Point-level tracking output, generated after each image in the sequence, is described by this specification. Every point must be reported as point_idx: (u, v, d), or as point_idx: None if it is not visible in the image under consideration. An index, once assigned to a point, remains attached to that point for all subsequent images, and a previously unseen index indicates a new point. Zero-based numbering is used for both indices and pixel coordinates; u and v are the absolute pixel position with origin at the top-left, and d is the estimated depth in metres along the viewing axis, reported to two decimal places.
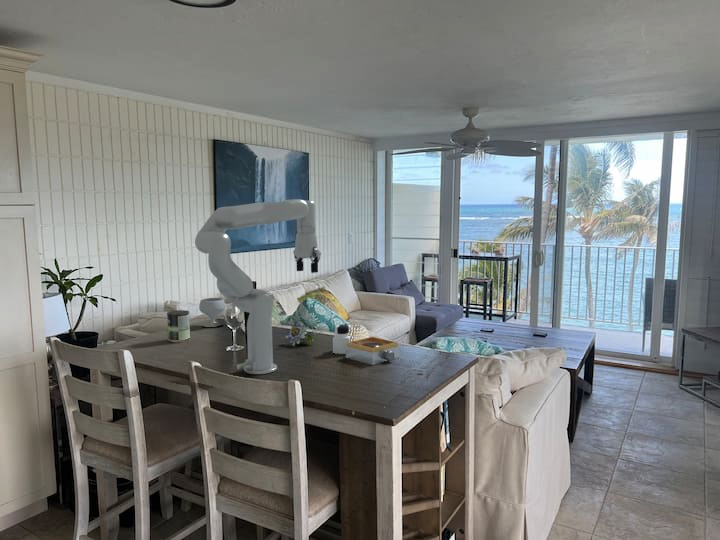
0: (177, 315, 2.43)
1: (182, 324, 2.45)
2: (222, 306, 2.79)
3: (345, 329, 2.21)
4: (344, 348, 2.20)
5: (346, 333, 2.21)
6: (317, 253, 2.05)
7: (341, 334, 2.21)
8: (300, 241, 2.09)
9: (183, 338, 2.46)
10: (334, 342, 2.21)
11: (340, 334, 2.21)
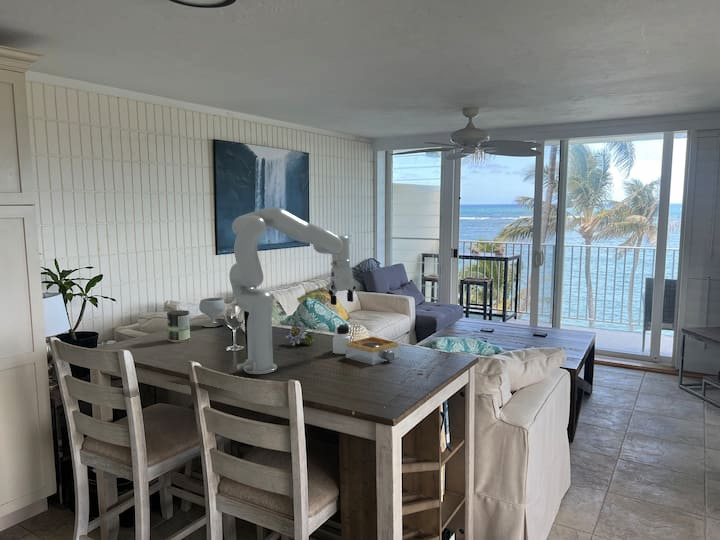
0: (177, 315, 2.43)
1: (182, 324, 2.45)
2: (222, 306, 2.79)
3: (345, 329, 2.21)
4: (344, 348, 2.20)
5: (346, 333, 2.21)
6: (355, 283, 2.26)
7: (341, 334, 2.21)
8: (344, 274, 2.19)
9: (183, 338, 2.46)
10: (334, 342, 2.21)
11: (340, 334, 2.21)
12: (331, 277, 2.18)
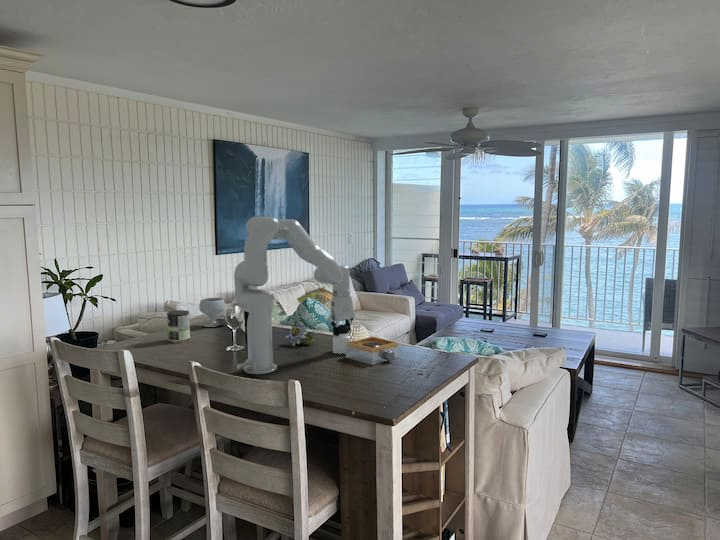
0: (177, 315, 2.43)
1: (182, 324, 2.45)
2: (222, 306, 2.79)
3: (345, 329, 2.21)
4: (344, 348, 2.20)
5: (346, 333, 2.21)
6: (353, 315, 2.27)
7: (341, 334, 2.21)
8: (345, 304, 2.20)
9: (183, 338, 2.46)
10: (334, 342, 2.21)
11: (340, 334, 2.21)
12: (331, 307, 2.20)
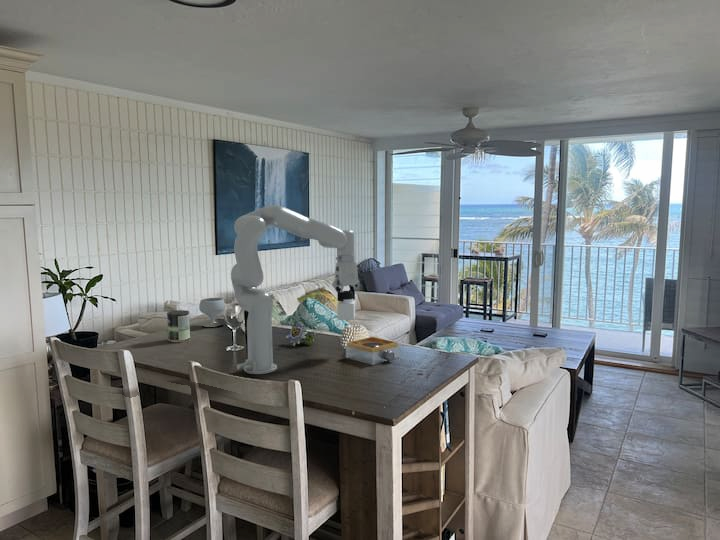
0: (177, 315, 2.43)
1: (182, 324, 2.45)
2: (222, 306, 2.79)
3: (350, 294, 2.18)
4: (349, 314, 2.17)
5: (351, 299, 2.18)
6: (358, 281, 2.24)
7: (346, 300, 2.17)
8: (349, 269, 2.17)
9: (183, 338, 2.46)
10: (338, 308, 2.17)
11: (345, 300, 2.17)
12: (336, 272, 2.16)
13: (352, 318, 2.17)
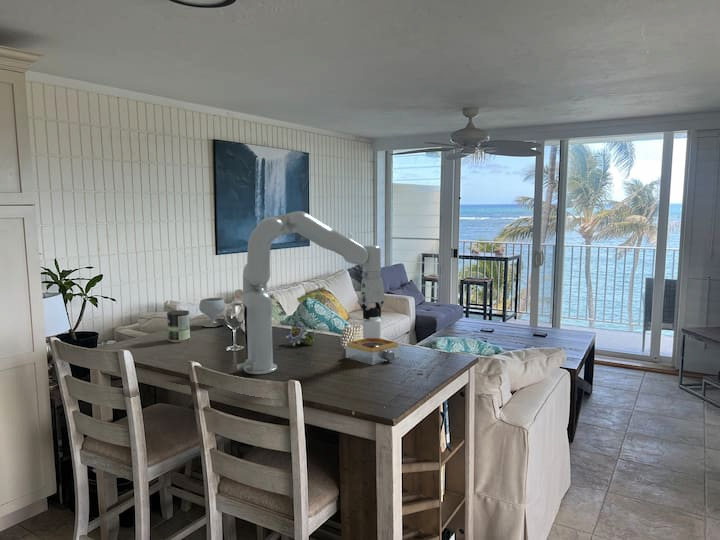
0: (177, 315, 2.43)
1: (182, 324, 2.45)
2: (222, 306, 2.79)
3: (376, 312, 2.11)
4: (375, 332, 2.10)
5: (377, 316, 2.11)
6: (384, 298, 2.17)
7: (372, 317, 2.10)
8: (376, 286, 2.10)
9: (183, 338, 2.46)
10: (364, 326, 2.10)
11: (371, 318, 2.10)
12: (362, 289, 2.09)
13: (378, 336, 2.10)
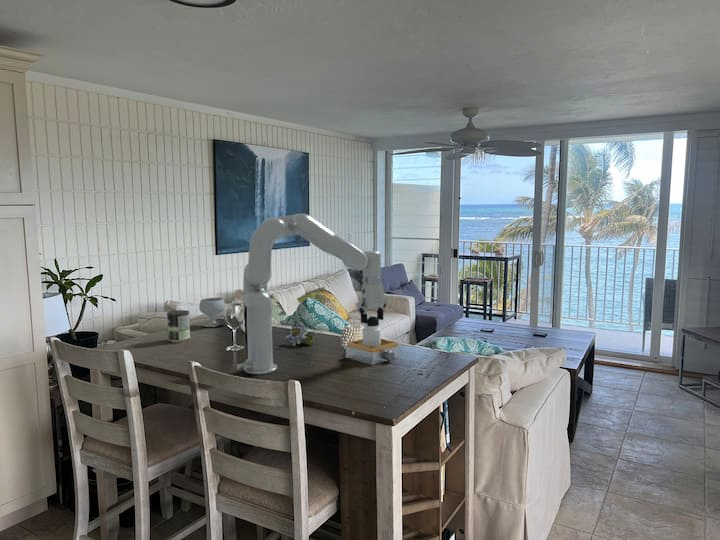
0: (177, 315, 2.43)
1: (182, 324, 2.45)
2: (222, 306, 2.79)
3: (375, 321, 2.11)
4: (374, 341, 2.10)
5: (376, 325, 2.11)
6: (385, 300, 2.17)
7: (371, 326, 2.10)
8: (376, 291, 2.10)
9: (183, 338, 2.46)
10: (364, 335, 2.10)
11: (371, 326, 2.10)
12: (362, 294, 2.10)
13: (378, 345, 2.10)
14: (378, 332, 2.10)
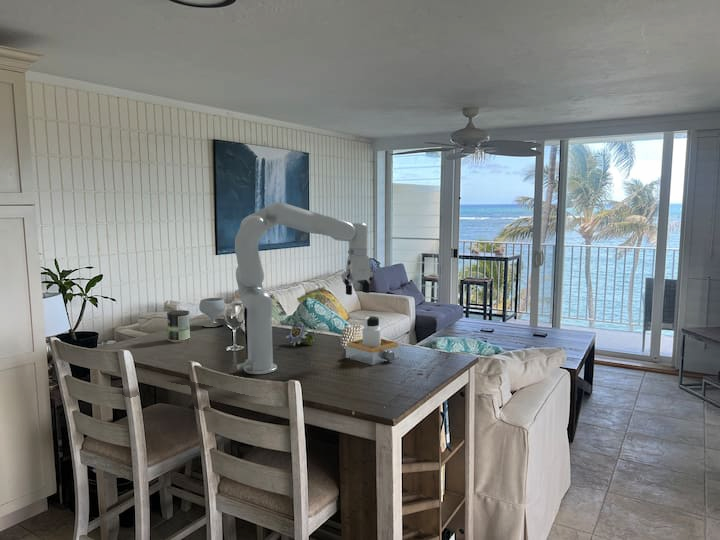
0: (177, 315, 2.43)
1: (182, 324, 2.45)
2: (222, 306, 2.79)
3: (375, 321, 2.11)
4: (374, 341, 2.10)
5: (376, 325, 2.11)
6: (372, 273, 2.17)
7: (371, 326, 2.10)
8: (361, 263, 2.09)
9: (183, 338, 2.46)
10: (364, 335, 2.10)
11: (371, 326, 2.10)
12: (347, 266, 2.09)
13: (378, 345, 2.10)
14: (378, 332, 2.10)
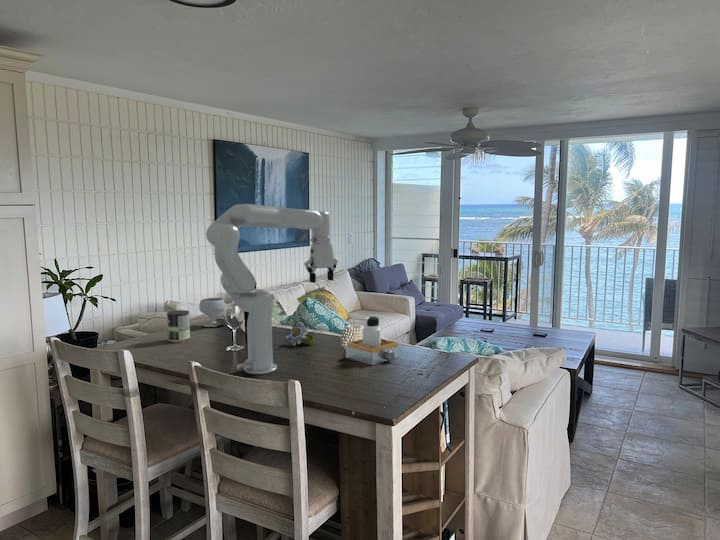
0: (177, 315, 2.43)
1: (182, 324, 2.45)
2: (222, 306, 2.79)
3: (375, 321, 2.11)
4: (374, 341, 2.10)
5: (376, 325, 2.11)
6: (336, 261, 2.19)
7: (371, 326, 2.10)
8: (324, 251, 2.11)
9: (183, 338, 2.46)
10: (364, 335, 2.10)
11: (371, 326, 2.10)
12: (310, 254, 2.11)
13: (378, 345, 2.10)
14: (378, 332, 2.10)
